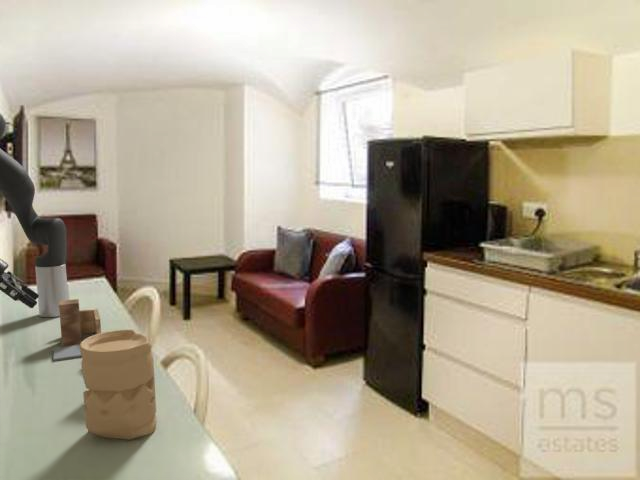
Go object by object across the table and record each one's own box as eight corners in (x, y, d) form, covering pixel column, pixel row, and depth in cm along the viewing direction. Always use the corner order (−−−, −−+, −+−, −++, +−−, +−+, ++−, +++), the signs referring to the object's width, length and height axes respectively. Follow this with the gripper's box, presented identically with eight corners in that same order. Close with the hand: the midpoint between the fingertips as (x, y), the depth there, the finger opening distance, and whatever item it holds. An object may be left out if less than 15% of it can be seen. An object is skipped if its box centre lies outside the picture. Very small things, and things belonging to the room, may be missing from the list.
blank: (62, 346, 145) (59, 305, 143) (62, 341, 149) (59, 301, 148) (81, 343, 147) (78, 303, 146) (81, 338, 152) (78, 299, 150)
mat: (54, 350, 142) (53, 348, 142) (89, 345, 146) (89, 343, 146) (53, 361, 134) (53, 359, 134) (91, 355, 138) (91, 353, 138)
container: (141, 408, 107) (136, 325, 105) (167, 431, 98) (163, 340, 95) (77, 429, 99) (70, 338, 97) (99, 456, 90) (92, 357, 87)
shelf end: (68, 347, 144) (66, 323, 143) (67, 334, 156) (66, 311, 155) (101, 342, 148) (100, 319, 147) (99, 330, 159) (97, 308, 158)
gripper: (-10, 258, 131) (44, 297, 137) (-3, 250, 144) (46, 286, 150) (-33, 280, 129) (23, 319, 136) (-24, 270, 142) (27, 306, 149)
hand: (35, 301), depth 143 cm, fingers open, 8 cm apart
